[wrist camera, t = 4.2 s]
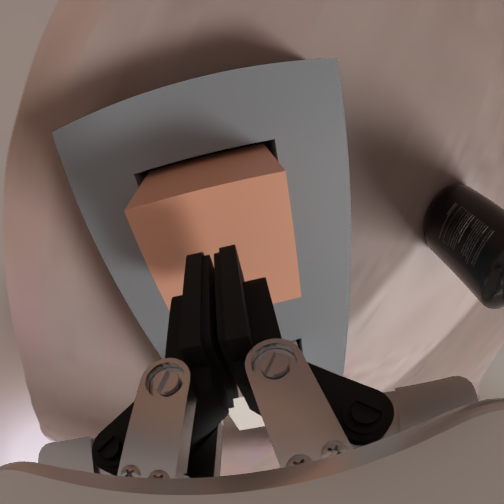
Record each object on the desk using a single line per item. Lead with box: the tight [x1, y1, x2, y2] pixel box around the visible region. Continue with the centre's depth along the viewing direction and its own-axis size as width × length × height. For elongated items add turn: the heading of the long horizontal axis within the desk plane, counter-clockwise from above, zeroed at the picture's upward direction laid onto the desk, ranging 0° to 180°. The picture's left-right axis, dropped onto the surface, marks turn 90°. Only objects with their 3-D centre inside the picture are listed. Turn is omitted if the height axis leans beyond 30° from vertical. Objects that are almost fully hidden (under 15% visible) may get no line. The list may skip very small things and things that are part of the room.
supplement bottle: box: [424, 184, 504, 309], centre depth 16 cm, size 7×7×12 cm
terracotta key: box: [124, 143, 301, 311], centre depth 14 cm, size 6×6×5 cm
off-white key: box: [229, 340, 298, 430], centre depth 21 cm, size 6×6×5 cm
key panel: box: [52, 58, 351, 415], centre depth 20 cm, size 14×28×4 cm, turn 11°
